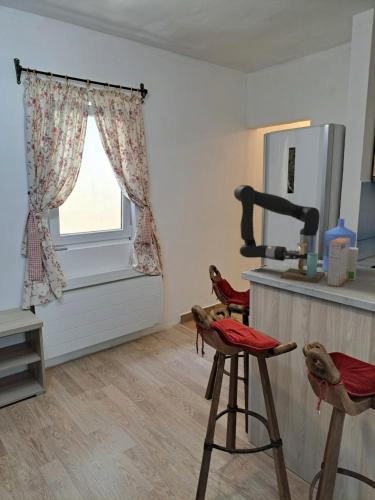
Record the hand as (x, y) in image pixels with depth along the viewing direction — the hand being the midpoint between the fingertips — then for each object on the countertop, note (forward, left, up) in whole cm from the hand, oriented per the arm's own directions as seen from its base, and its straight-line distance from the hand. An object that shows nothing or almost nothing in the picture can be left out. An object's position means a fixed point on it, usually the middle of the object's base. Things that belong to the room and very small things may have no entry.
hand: (308, 256), depth 184 cm
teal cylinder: (+9, +4, -8) cm, 13 cm away
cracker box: (+6, +16, -10) cm, 20 cm away
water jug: (-20, +11, -10) cm, 25 cm away
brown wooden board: (+4, -1, -10) cm, 11 cm away
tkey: (+3, -1, -7) cm, 8 cm away
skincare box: (-6, +18, -10) cm, 21 cm away
